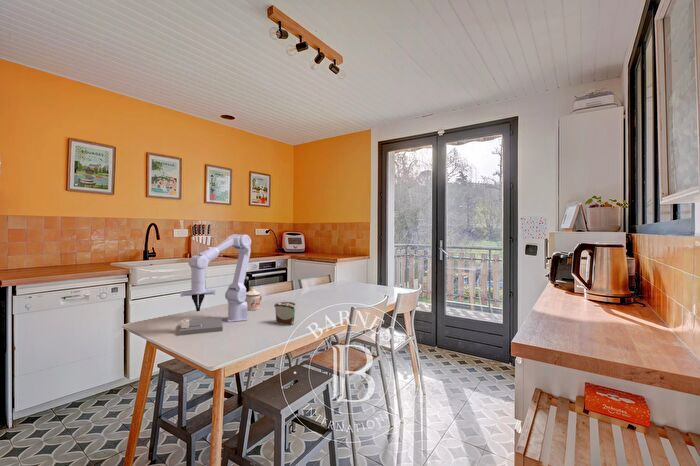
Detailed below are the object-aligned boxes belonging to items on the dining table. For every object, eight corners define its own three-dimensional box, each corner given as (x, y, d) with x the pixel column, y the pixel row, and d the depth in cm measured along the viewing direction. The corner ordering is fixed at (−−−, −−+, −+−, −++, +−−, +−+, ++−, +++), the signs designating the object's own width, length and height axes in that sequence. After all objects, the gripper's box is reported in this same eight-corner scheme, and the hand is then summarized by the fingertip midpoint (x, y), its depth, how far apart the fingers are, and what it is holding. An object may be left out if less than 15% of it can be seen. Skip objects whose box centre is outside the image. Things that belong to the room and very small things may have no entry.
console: (221, 321, 168) (221, 317, 168) (222, 331, 154) (222, 326, 154) (181, 324, 161) (181, 320, 161) (178, 335, 147) (178, 330, 147)
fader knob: (189, 324, 155) (189, 317, 154) (188, 327, 151) (188, 319, 150) (181, 325, 153) (182, 317, 153) (181, 328, 149) (181, 320, 149)
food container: (301, 322, 169) (301, 303, 169) (294, 326, 164) (294, 305, 163) (281, 319, 174) (281, 300, 174) (273, 322, 169) (274, 302, 168)
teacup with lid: (252, 311, 188) (252, 291, 187) (240, 309, 192) (240, 289, 192) (267, 307, 198) (267, 287, 198) (256, 304, 203) (256, 285, 202)
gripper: (180, 284, 147) (179, 314, 147) (215, 282, 153) (215, 311, 153) (181, 281, 153) (181, 310, 154) (215, 279, 159) (214, 307, 160)
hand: (198, 310), depth 154 cm, fingers closed
